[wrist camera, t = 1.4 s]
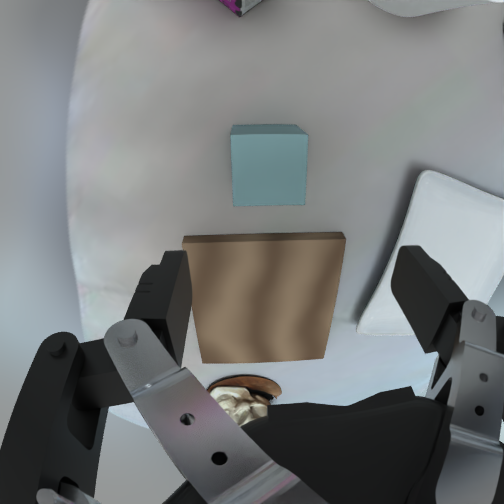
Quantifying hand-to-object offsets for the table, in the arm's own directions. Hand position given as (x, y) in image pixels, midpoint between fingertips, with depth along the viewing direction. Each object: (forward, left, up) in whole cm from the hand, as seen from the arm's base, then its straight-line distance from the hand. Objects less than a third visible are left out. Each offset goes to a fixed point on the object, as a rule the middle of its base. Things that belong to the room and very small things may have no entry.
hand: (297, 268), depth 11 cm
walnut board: (0, +17, -18) cm, 25 cm away
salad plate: (-23, +12, -19) cm, 32 cm away
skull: (+3, +37, -19) cm, 41 cm away
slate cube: (0, 0, -18) cm, 18 cm away
